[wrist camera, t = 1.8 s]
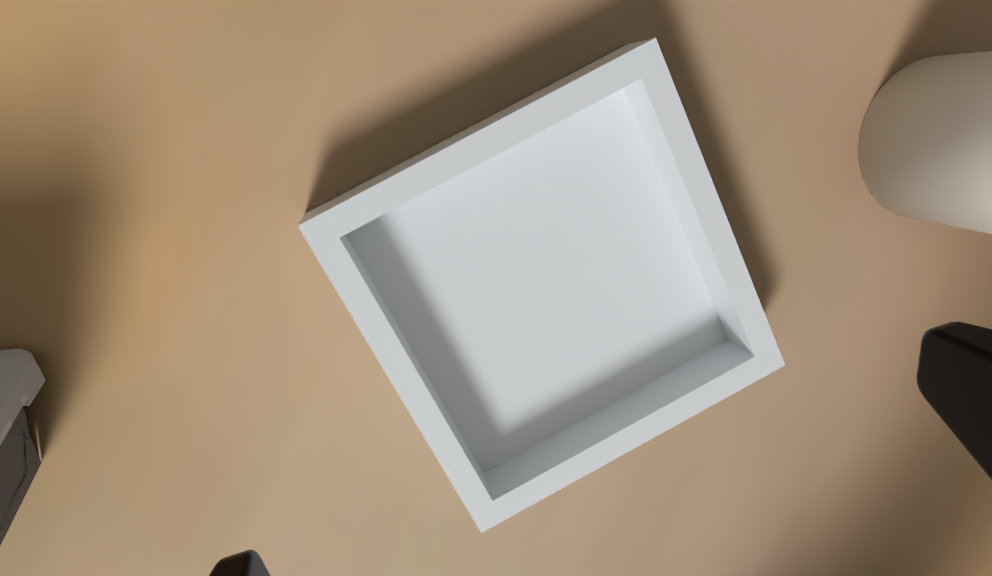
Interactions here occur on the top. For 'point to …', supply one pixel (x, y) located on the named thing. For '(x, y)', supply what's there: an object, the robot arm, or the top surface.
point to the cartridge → (933, 141)
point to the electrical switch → (16, 431)
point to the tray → (550, 283)
